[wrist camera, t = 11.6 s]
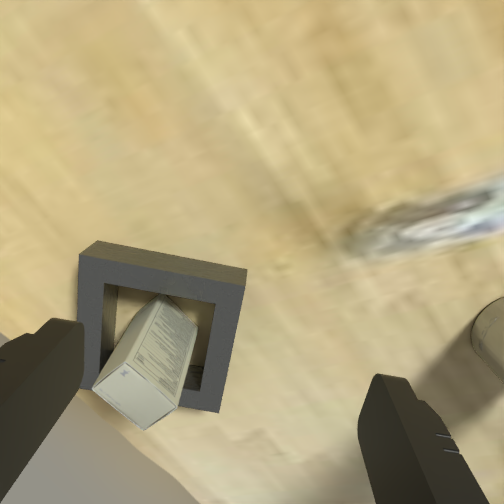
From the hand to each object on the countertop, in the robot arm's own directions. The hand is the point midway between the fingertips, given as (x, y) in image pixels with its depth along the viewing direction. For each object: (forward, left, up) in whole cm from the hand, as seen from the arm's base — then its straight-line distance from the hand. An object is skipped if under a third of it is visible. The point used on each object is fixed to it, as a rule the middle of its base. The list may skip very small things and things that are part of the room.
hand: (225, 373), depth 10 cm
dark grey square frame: (+7, +17, -27) cm, 33 cm away
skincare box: (+7, +17, -28) cm, 33 cm away
